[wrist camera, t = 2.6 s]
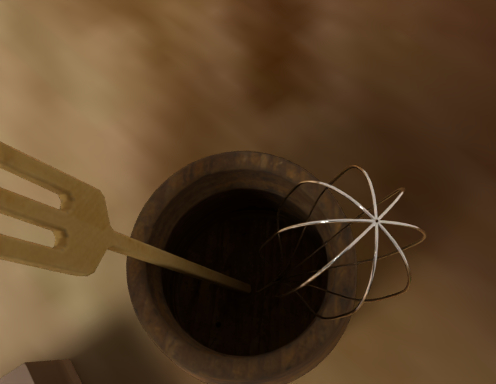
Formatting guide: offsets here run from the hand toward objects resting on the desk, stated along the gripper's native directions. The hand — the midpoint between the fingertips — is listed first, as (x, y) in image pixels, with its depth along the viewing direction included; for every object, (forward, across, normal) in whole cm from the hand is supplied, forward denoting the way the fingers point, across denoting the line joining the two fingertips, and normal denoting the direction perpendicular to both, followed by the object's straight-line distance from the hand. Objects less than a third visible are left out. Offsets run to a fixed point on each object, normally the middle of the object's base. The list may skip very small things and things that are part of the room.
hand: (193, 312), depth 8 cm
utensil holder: (+7, 0, +6) cm, 9 cm away
